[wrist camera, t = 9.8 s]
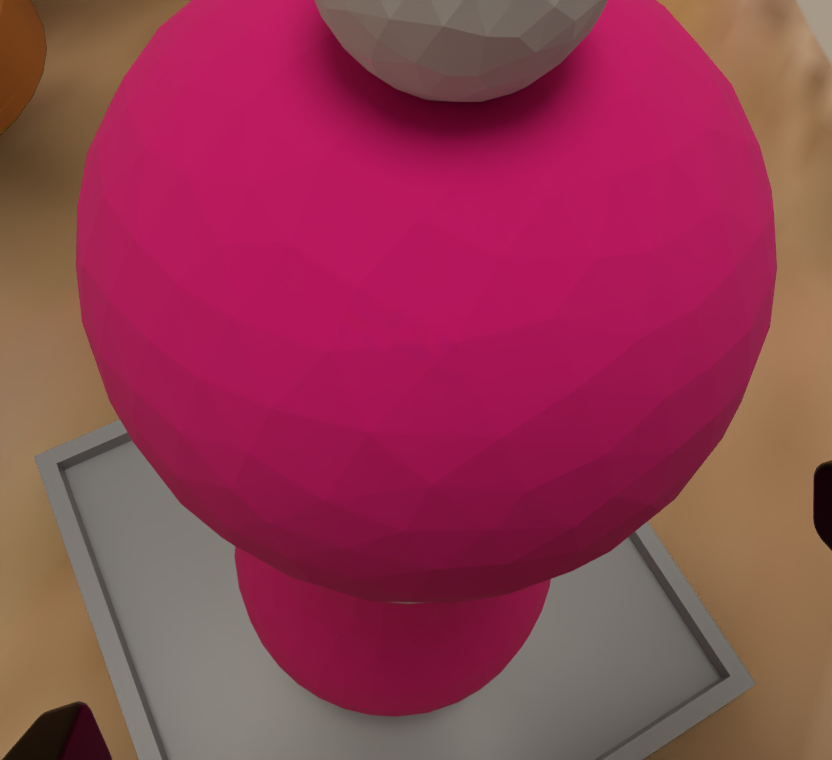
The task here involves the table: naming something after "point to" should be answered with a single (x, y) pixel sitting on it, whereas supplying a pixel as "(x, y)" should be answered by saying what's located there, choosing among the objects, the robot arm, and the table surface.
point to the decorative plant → (19, 57)
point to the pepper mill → (422, 307)
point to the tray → (344, 729)
